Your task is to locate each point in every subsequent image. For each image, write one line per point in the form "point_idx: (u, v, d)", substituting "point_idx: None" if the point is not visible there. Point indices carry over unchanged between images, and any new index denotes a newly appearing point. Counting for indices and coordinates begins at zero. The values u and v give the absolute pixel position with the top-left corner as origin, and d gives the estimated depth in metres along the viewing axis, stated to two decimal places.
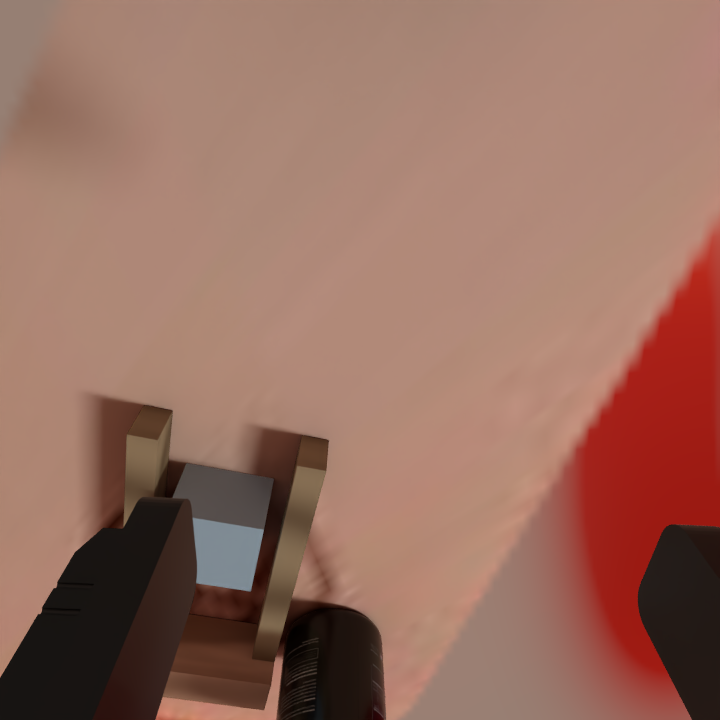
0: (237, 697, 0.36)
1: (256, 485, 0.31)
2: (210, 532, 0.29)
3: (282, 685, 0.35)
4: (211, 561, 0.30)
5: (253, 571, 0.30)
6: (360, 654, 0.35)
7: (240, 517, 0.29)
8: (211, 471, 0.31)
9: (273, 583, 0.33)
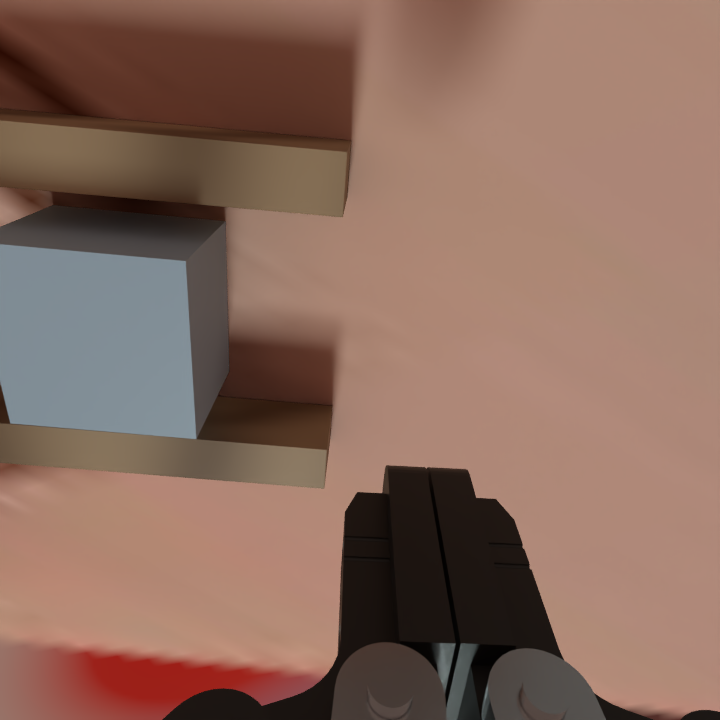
0: None
1: (222, 358, 0.17)
2: (157, 349, 0.14)
3: None
4: (68, 350, 0.14)
5: (72, 426, 0.15)
6: None
7: (199, 387, 0.15)
8: (224, 273, 0.17)
9: (20, 431, 0.17)
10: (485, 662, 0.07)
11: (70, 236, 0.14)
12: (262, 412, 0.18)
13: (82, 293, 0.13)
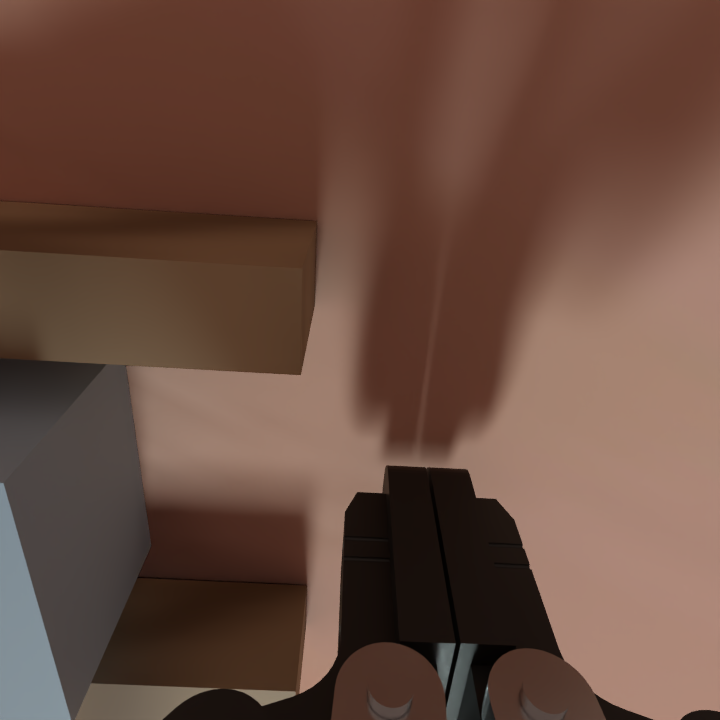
0: None
1: (133, 543, 0.11)
2: None
3: None
4: None
5: None
6: None
7: (73, 642, 0.09)
8: (126, 422, 0.11)
9: None
10: (485, 662, 0.07)
11: None
12: (201, 609, 0.12)
13: None
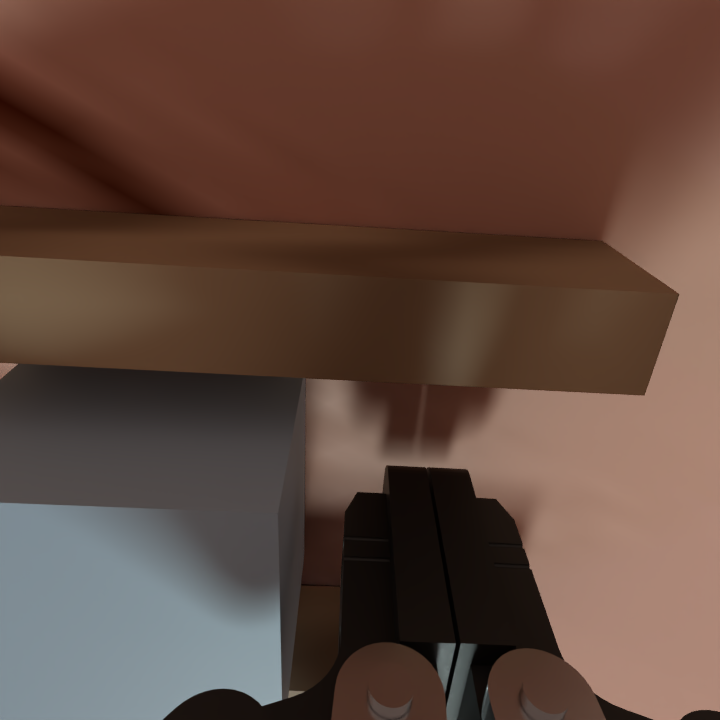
0: None
1: (300, 559, 0.11)
2: (221, 636, 0.08)
3: None
4: (65, 643, 0.08)
5: None
6: None
7: (285, 663, 0.09)
8: (303, 441, 0.11)
9: None
10: (485, 662, 0.07)
11: (60, 449, 0.08)
12: None
13: (86, 567, 0.07)
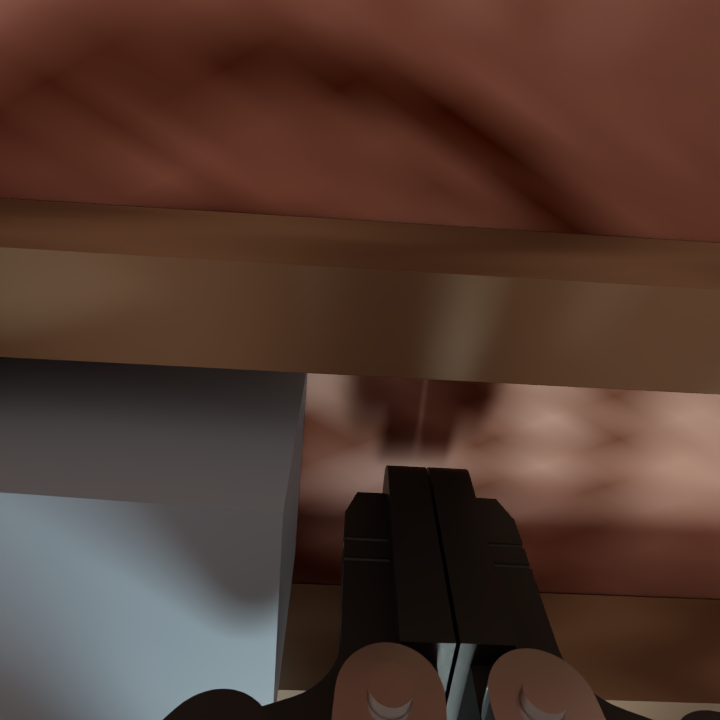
0: None
1: (293, 559, 0.11)
2: (216, 637, 0.08)
3: None
4: (53, 638, 0.08)
5: None
6: None
7: (277, 664, 0.09)
8: (301, 440, 0.10)
9: None
10: (485, 662, 0.07)
11: (57, 439, 0.07)
12: None
13: (81, 561, 0.07)
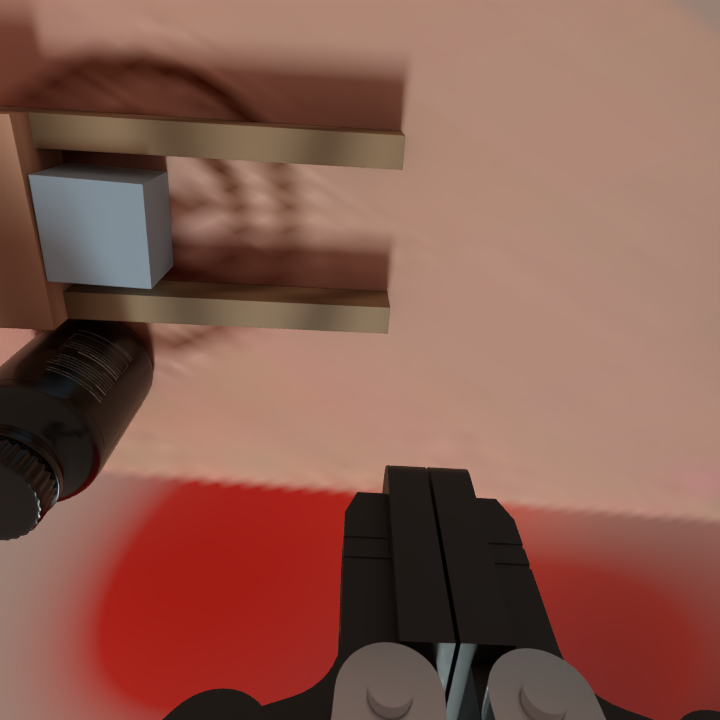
0: (7, 292, 0.27)
1: (168, 253, 0.30)
2: (128, 234, 0.26)
3: (67, 345, 0.28)
4: (80, 235, 0.26)
5: (82, 282, 0.27)
6: (136, 409, 0.31)
7: (152, 260, 0.27)
8: (167, 202, 0.29)
9: (215, 303, 0.29)
10: (485, 662, 0.07)
11: (81, 174, 0.26)
12: (347, 294, 0.31)
13: (88, 203, 0.25)
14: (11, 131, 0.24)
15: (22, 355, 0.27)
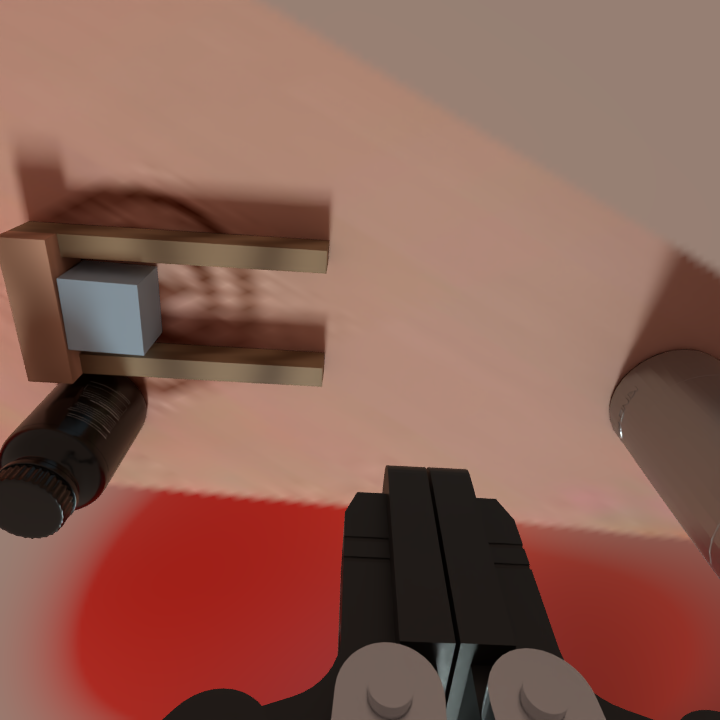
0: (39, 357, 0.37)
1: (157, 325, 0.40)
2: (127, 318, 0.36)
3: (82, 394, 0.38)
4: (92, 319, 0.36)
5: (93, 350, 0.37)
6: (133, 440, 0.41)
7: (145, 334, 0.37)
8: (157, 288, 0.39)
9: (191, 363, 0.39)
10: (485, 662, 0.07)
11: (93, 275, 0.36)
12: (293, 355, 0.41)
13: (98, 297, 0.35)
14: (45, 251, 0.34)
15: (49, 403, 0.37)
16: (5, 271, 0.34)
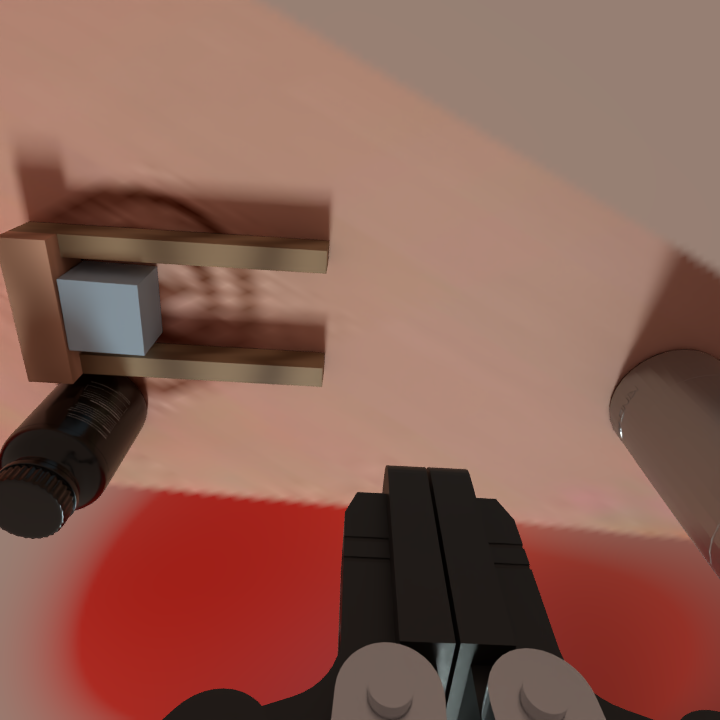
0: (39, 357, 0.37)
1: (158, 325, 0.40)
2: (127, 318, 0.36)
3: (82, 395, 0.38)
4: (93, 319, 0.36)
5: (94, 350, 0.37)
6: (133, 440, 0.41)
7: (145, 334, 0.37)
8: (157, 288, 0.39)
9: (192, 364, 0.39)
10: (485, 662, 0.07)
11: (93, 275, 0.36)
12: (293, 355, 0.41)
13: (99, 297, 0.35)
14: (45, 251, 0.34)
15: (50, 403, 0.37)
16: (5, 271, 0.34)
